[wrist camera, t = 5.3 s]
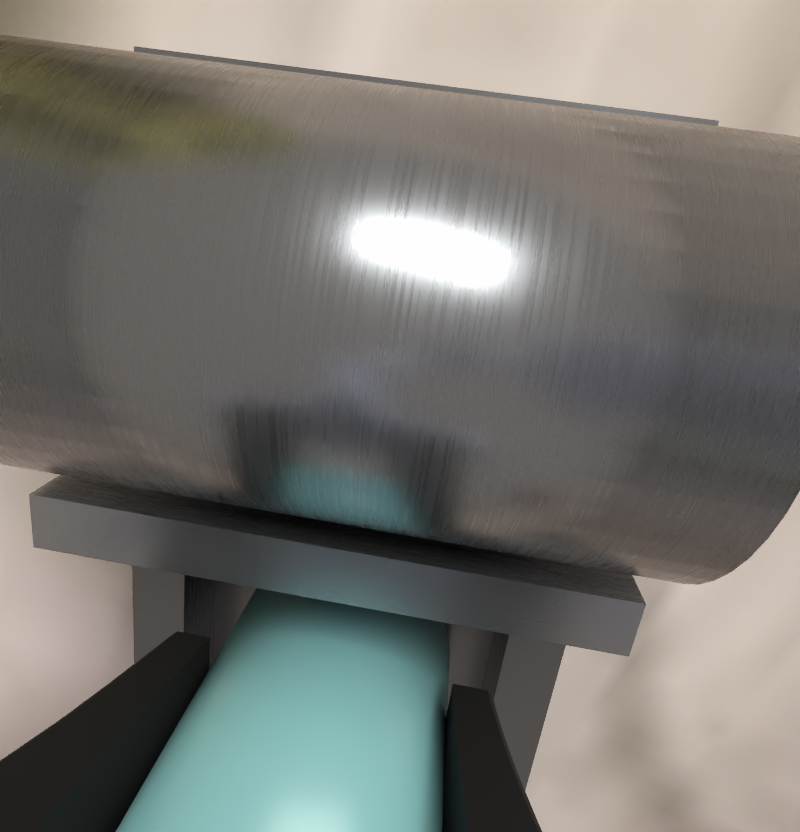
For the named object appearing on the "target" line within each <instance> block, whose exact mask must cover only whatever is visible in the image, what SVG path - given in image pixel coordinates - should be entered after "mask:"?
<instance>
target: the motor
mask: <svg viewBox="0 0 800 832" xmlns="http://www.w3.org/2000/svg"><path fill="white" fill-rule="evenodd" d="M718 122H719V121H715V120H708V119H700V118H692V117H684V116H676V115H668V114H660V113H653V112H645V111H637V110H629V109H621V108H613V107H605V106H598V105H590V104H582V103H574V102H566V101H558V100H550V99H543V98H535V97H527V96H519V95H511V94H503V93H495V92H488V91H480V90H472V89H464V88H456V87H448V86H440V85H433V84H425V83H417V82H409V81H401V80H393V79H385V78H378V77H370V76H362V75H354V74H346V73H338V72H330V71H323V70H315V69H307V68H299V67H291V66H283V65H275V64H268V63H260V62H252V61H244V60H236V59H228V58H220V57H213V56H205V55H197V54H189V53H181V52H173V51H165V50H158V49H150V48H142V47H134V52H132V51H124V50H116V49H109V48H101V47H93V46H85V45H77V44H70V43H62V42H54V41H46V40H38V39H30V38H23V37H14V36H5V35H0V464H4V465H9V466H15V467H21V468H27V469H32V470H38V471H44V472H49V473H55V474H61V475H60V476H58V477H57V478H55V479H53V480H52V481H50V482H49V483H47V484H45V485H44V486H42V487H40V488H39V489H37V490H36V491H34V492H32V493H31V494H29V497H30V508H31V520H32V532H33V544H34V547H36V548H42V549H47V550H53V551H58V552H63V553H69V554H74V555H80V556H85V557H91V558H96V559H102V560H107V561H112V562H118V563H123V564H129V565H132V566H133V615H134V664H135V663H136V662H137V661H139V660H140V659H141V658H143V657H144V656H145V655H146V654H148V653H149V652H150V651H152V650H153V649H154V648H155V647H157V646H158V645H159V644H160V643H162V642H163V641H164V640H166V639H167V638H168V637H170V636H171V635H172V634H174V633H175V632H177V631H179V632H184V633H190V634H195V635H200V636H205V637H210V657H209V669H210V668H211V666H212V664H213V662H214V661H215V659H216V657H217V656H218V654H219V652H220V650H221V649H222V647H223V645H224V643H225V642H226V640H227V638H228V636H229V635H230V633H231V631H232V630H233V628H234V626H235V624H236V623H237V621H238V619H239V617H240V616H241V614H242V612H243V611H244V609H245V607H246V605H247V604H248V602H249V600H250V598H251V597H252V595H253V593H254V592H255V590H256V589H257V588H259V589H265V590H270V591H276V592H281V593H286V594H292V595H297V596H303V597H308V598H314V599H319V600H324V601H330V602H335V603H341V604H346V605H352V606H357V607H363V608H368V609H373V610H379V611H384V612H390V613H395V614H401V615H406V616H411V617H417V618H422V619H428V620H433V621H439V622H444V624H445V627H446V630H447V634H448V637H449V646H450V661H449V684H448V704H449V699H450V694H451V690H452V685H453V684H457V685H463V686H468V687H473V688H478V689H484V690H488V691H489V693H490V694H491V695H492V697H493V700H494V704H495V708H496V711H497V714H498V718H499V721H500V724H501V727H502V731H503V734H504V736H505V739H506V742H507V745H508V748H509V751H510V754H511V756H512V759H513V762H514V765H515V767H516V770H517V773H518V775H519V778H520V780H521V783H522V785H523V788H524V790H525V789H526V785H527V782H528V778H529V774H530V771H531V767H532V764H533V760H534V756H535V753H536V749H537V746H538V742H539V739H540V735H541V731H542V728H543V724H544V721H545V717H546V713H547V710H548V706H549V703H550V699H551V696H552V692H553V688H554V685H555V681H556V678H557V674H558V670H559V667H560V663H561V660H562V656H563V652H564V649H565V645H569V646H575V647H580V648H585V649H591V650H596V651H602V652H607V653H613V654H618V655H623V656H629V654H630V651H631V648H632V645H633V642H634V639H635V636H636V633H637V630H638V627H639V624H640V621H641V617H642V614H643V611H644V608H645V605H646V604H645V602H644V599H643V597H642V595H641V593H640V591H639V589H638V587H637V585H636V582H635V580H634V578H633V576H632V575H637V576H642V577H648V578H654V579H659V580H665V581H671V582H676V583H682V584H702V583H706V582H710V581H714V580H716V579H718V578H720V577H722V576H724V575H726V574H728V573H730V572H732V571H733V570H734V569H736V568H737V567H738V566H740V565H741V564H742V563H743V562H745V561H746V560H747V559H749V558H750V557H751V556H752V555H753V554H754V552H755V551H756V550H757V549H758V548H759V547H760V546H761V545H762V544H763V543H764V542H765V541H766V540H767V539H768V538H769V536H770V535H771V533H772V532H773V531H774V529H775V528H776V527H777V525H778V524H779V522H780V521H781V520H782V518H783V517H784V516H785V514H786V513H787V511H788V510H789V508H790V506H791V504H792V503H793V501H794V499H795V498H796V496H797V494H798V492H799V491H800V137H795V136H789V135H781V134H773V133H766V132H758V131H750V130H742V129H734V128H727V127H719V126H718ZM447 709H448V708H447Z"/></svg>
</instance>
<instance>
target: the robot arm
mask: <svg viewBox="0 0 800 832" xmlns="http://www.w3.org/2000/svg"><path fill="white" fill-rule="evenodd" d="M209 657H210V637H205V636H200V635H195V634H190V633H184V632H179V631H177V632H175V633H174V634H172V635H171V636H170V637H168V638H167V639H166V640H164V641H163V642H162V643H160V644H159V645H158V646H157V647H155V648H154V649H153V650H152V651H150V652H149V653H148V654H146V655H145V656H144V657H143V658H141V659H140V660H139V661H137V662H136V663H135V664H134V665H132V666H131V667H130V668H129V669H127V670H126V671H125V672H123V673H122V674H121V675H119V676H118V677H117V678H116V679H114V680H113V681H112V682H110V683H109V684H108V685H106V686H105V687H104V688H102V689H101V690H100V691H98V692H97V693H96V694H94V695H93V696H92V697H90V698H89V699H88V700H86V701H85V702H83V703H82V704H81V705H79V706H78V707H77V708H75V709H74V710H73V711H71V712H70V713H69V714H67V715H66V716H65V717H63V718H62V719H60V720H59V721H58V722H56V723H55V724H53V725H52V726H50V727H49V728H48V729H46V730H45V731H43V732H42V733H40V734H39V735H37V736H36V737H34V738H33V739H31V740H30V741H28V742H27V743H26V744H24V745H23V746H21V747H20V748H18V749H17V750H15V751H14V752H12V753H11V754H9V755H8V756H7V757H5V758H4V759H2V760H1V761H0V832H116V830H117V828H118V827H119V825H120V823H121V821H122V820H123V818H124V816H125V815H126V813H127V811H128V809H129V808H130V806H131V804H132V802H133V801H134V799H135V797H136V796H137V794H138V792H139V790H140V789H141V787H142V785H143V783H144V782H145V780H146V778H147V777H148V775H149V773H150V771H151V770H152V768H153V766H154V764H155V763H156V761H157V759H158V757H159V756H160V754H161V752H162V751H163V749H164V747H165V745H166V744H167V742H168V740H169V738H170V737H171V735H172V733H173V732H174V730H175V728H176V726H177V725H178V723H179V721H180V719H181V718H182V716H183V714H184V713H185V711H186V709H187V707H188V706H189V704H190V702H191V700H192V699H193V697H194V695H195V694H196V692H197V690H198V688H199V687H200V685H201V683H202V681H203V680H204V678H205V676H206V675H207V673H208V671H209ZM442 832H542V831H541V828H540V826H539V824H538V821H537V819H536V817H535V814H534V812H533V809H532V807H531V805H530V802H529V800H528V797H527V795H526V793H525V790H524V788H523V785H522V783H521V780H520V778H519V775H518V773H517V770H516V767H515V765H514V762H513V759H512V756H511V754H510V751H509V748H508V745H507V742H506V739H505V736H504V734H503V731H502V727H501V724H500V721H499V718H498V714H497V711H496V708H495V704H494V700H493V697H492V695H491V694H490V693H489V691H488V690H484V689H478V688H473V687H468V686H463V685H457V684H453V685H452V690H451V694H450V699H449V704H448V709H447V714H446V723H445V745H444V767H443V823H442Z"/></svg>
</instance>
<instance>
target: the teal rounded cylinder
mask: <svg viewBox="0 0 800 832" xmlns="http://www.w3.org/2000/svg"><path fill="white" fill-rule="evenodd" d="M449 661H450V646H449V637H448V634H447V630H446V627H445V624H444V622H439V621H433V620H428V619H422V618H417V617H411V616H406V615H401V614H395V613H390V612H384V611H379V610H373V609H368V608H363V607H357V606H352V605H346V604H341V603H335V602H330V601H324V600H319V599H314V598H308V597H303V596H297V595H292V594H286V593H281V592H276V591H270V590H265V589H259V588H257V589H256V590H255V592H254V593H253V595H252V597H251V598H250V600H249V602H248V604H247V605H246V607H245V609H244V611H243V612H242V614H241V616H240V617H239V619H238V621H237V623H236V624H235V626H234V628H233V630H232V631H231V633H230V635H229V636H228V638H227V640H226V642H225V643H224V645H223V647H222V649H221V650H220V652H219V654H218V656H217V657H216V659H215V661H214V662H213V664H212V666H211V668H210V669H209V671H208V673H207V675H206V676H205V678H204V680H203V681H202V683H201V685H200V687H199V688H198V690H197V692H196V694H195V695H194V697H193V699H192V700H191V702H190V704H189V706H188V707H187V709H186V711H185V713H184V714H183V716H182V718H181V719H180V721H179V723H178V725H177V726H176V728H175V730H174V732H173V733H172V735H171V737H170V738H169V740H168V742H167V744H166V745H165V747H164V749H163V751H162V752H161V754H160V756H159V757H158V759H157V761H156V763H155V764H154V766H153V768H152V770H151V771H150V773H149V775H148V777H147V778H146V780H145V782H144V783H143V785H142V787H141V789H140V790H139V792H138V794H137V796H136V797H135V799H134V801H133V802H132V804H131V806H130V808H129V809H128V811H127V813H126V815H125V816H124V818H123V820H122V821H121V823H120V825H119V827H118V828H117V830H116V832H442V823H443V767H444V745H445V723H446V714H447V708H448V684H449Z"/></svg>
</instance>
